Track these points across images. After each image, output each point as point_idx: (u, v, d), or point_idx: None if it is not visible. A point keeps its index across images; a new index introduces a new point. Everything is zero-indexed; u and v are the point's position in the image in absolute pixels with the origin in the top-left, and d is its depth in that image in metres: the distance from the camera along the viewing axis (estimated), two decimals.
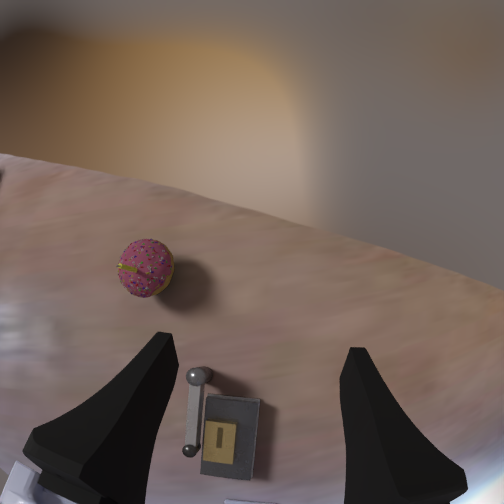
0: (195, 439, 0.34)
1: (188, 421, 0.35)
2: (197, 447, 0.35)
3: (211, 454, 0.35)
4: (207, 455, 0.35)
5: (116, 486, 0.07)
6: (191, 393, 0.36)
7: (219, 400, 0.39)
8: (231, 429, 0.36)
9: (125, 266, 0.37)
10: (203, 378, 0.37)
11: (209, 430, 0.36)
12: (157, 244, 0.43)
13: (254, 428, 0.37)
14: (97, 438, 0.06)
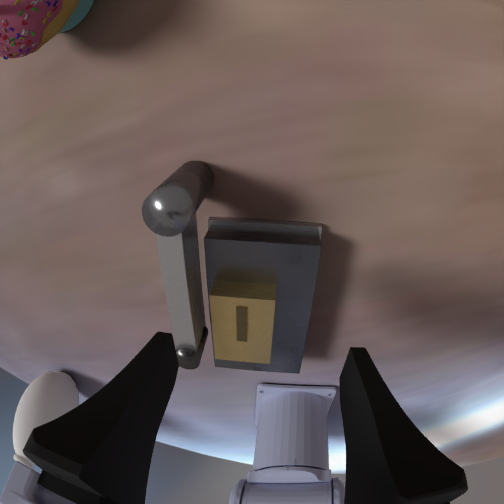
0: (193, 339, 0.19)
1: (171, 309, 0.18)
2: (201, 345, 0.20)
3: (228, 350, 0.21)
4: (222, 352, 0.21)
5: (116, 486, 0.07)
6: (163, 253, 0.16)
7: (234, 243, 0.19)
8: (265, 309, 0.19)
9: None
10: (185, 215, 0.14)
11: (219, 312, 0.20)
12: None
13: (311, 295, 0.20)
14: (97, 438, 0.06)
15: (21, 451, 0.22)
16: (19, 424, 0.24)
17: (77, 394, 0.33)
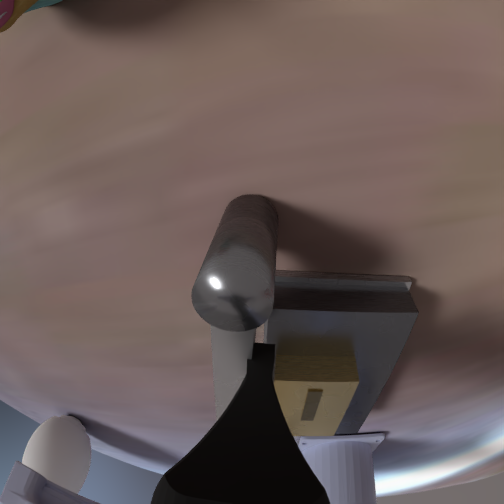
0: None
1: (220, 403, 0.12)
2: None
3: None
4: None
5: None
6: (220, 347, 0.10)
7: (310, 313, 0.13)
8: (344, 390, 0.14)
9: None
10: (267, 306, 0.09)
11: (284, 396, 0.14)
12: None
13: (393, 364, 0.15)
14: (249, 470, 0.06)
15: None
16: None
17: (88, 441, 0.27)
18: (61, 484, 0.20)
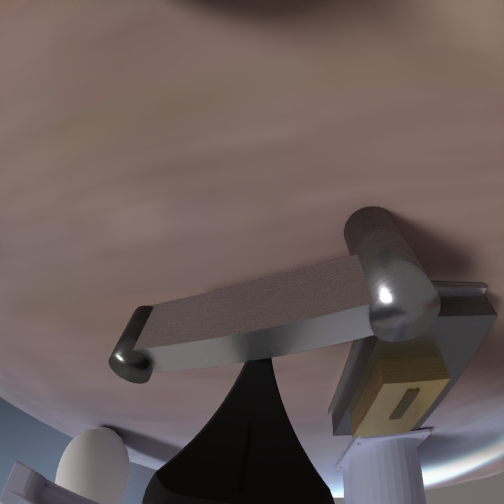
0: (174, 367, 0.11)
1: (218, 342, 0.10)
2: None
3: (373, 428, 0.16)
4: (365, 430, 0.16)
5: None
6: (333, 320, 0.09)
7: None
8: (436, 388, 0.13)
9: None
10: (406, 337, 0.09)
11: (385, 397, 0.14)
12: None
13: (467, 361, 0.14)
14: (240, 469, 0.06)
15: None
16: None
17: (127, 453, 0.27)
18: (102, 501, 0.20)
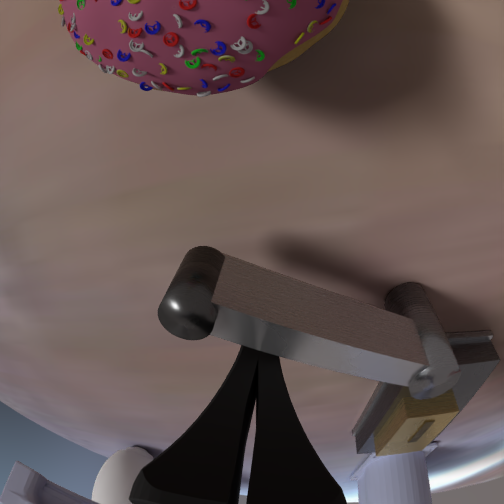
0: (235, 339, 0.10)
1: (315, 341, 0.10)
2: None
3: (394, 449, 0.17)
4: (387, 451, 0.17)
5: None
6: (402, 365, 0.10)
7: None
8: (447, 418, 0.15)
9: None
10: (420, 397, 0.11)
11: (407, 427, 0.16)
12: None
13: (473, 394, 0.16)
14: (225, 468, 0.06)
15: None
16: None
17: None
18: None
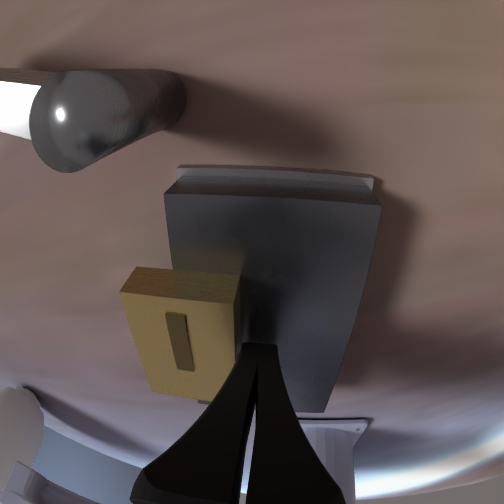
0: None
1: None
2: None
3: (168, 381, 0.12)
4: (160, 383, 0.13)
5: None
6: (10, 93, 0.05)
7: (218, 200, 0.10)
8: (217, 320, 0.10)
9: None
10: (58, 164, 0.06)
11: (141, 322, 0.11)
12: None
13: (357, 298, 0.11)
14: (226, 468, 0.06)
15: None
16: None
17: (40, 416, 0.24)
18: (5, 458, 0.17)
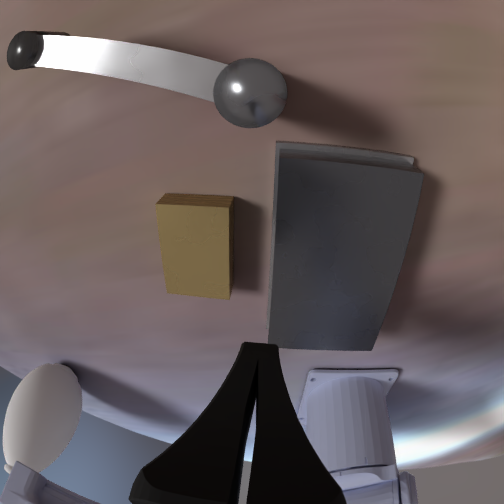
0: (49, 65, 0.09)
1: (98, 44, 0.09)
2: (38, 66, 0.09)
3: None
4: None
5: None
6: (189, 63, 0.09)
7: (320, 164, 0.13)
8: None
9: None
10: (238, 121, 0.10)
11: None
12: None
13: (406, 241, 0.15)
14: (225, 468, 0.06)
15: (13, 461, 0.17)
16: (10, 428, 0.19)
17: (80, 391, 0.28)
18: (45, 434, 0.20)
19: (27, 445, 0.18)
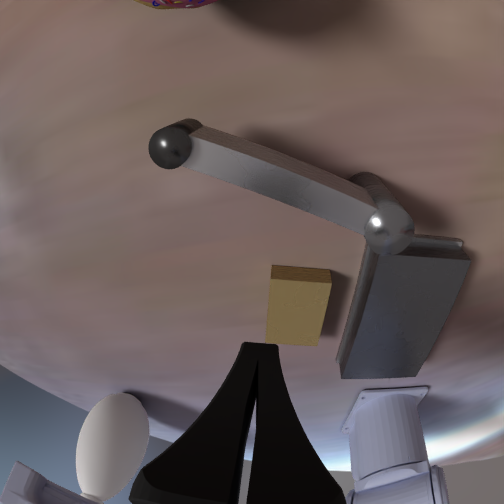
0: (206, 171, 0.13)
1: (268, 168, 0.13)
2: None
3: None
4: None
5: None
6: (351, 204, 0.13)
7: (406, 258, 0.17)
8: None
9: None
10: (379, 251, 0.14)
11: None
12: None
13: (451, 304, 0.19)
14: (225, 468, 0.06)
15: (92, 489, 0.21)
16: (88, 460, 0.23)
17: (147, 417, 0.31)
18: (124, 461, 0.24)
19: (107, 474, 0.22)
